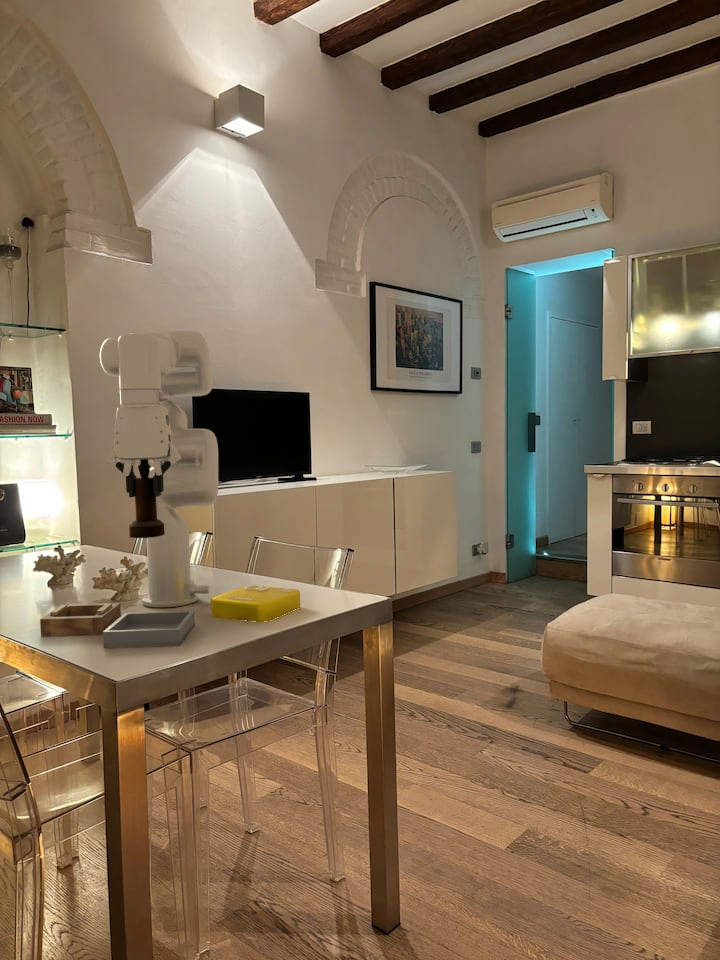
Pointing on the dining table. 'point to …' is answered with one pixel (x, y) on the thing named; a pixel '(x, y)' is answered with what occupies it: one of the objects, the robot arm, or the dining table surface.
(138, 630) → the gray square tray
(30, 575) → the dining table surface
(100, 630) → the walnut tray
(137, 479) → the wooden pepper mill
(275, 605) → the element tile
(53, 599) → the dining table surface
